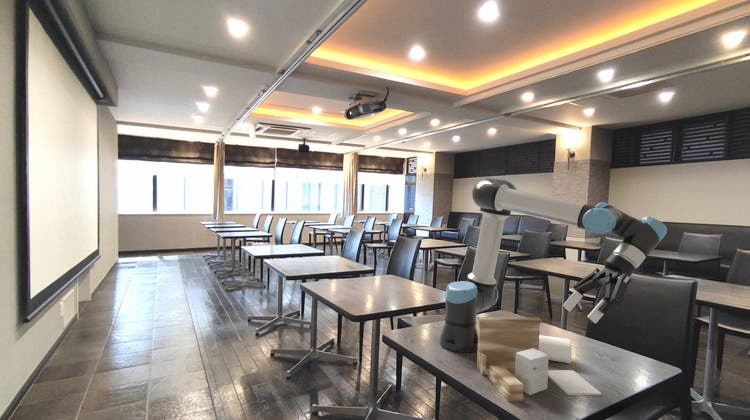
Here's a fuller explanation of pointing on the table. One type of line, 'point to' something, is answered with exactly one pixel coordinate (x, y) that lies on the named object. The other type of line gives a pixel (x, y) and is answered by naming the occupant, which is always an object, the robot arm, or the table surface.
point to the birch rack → (505, 340)
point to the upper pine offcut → (506, 379)
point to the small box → (532, 370)
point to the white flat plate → (572, 383)
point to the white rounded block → (556, 348)
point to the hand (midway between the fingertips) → (577, 314)
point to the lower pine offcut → (504, 392)
